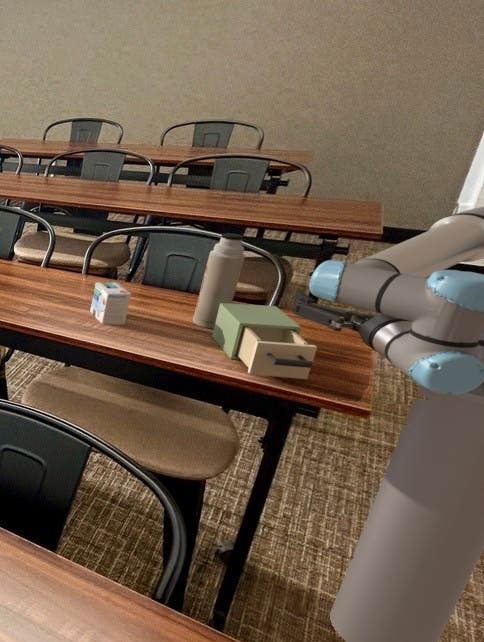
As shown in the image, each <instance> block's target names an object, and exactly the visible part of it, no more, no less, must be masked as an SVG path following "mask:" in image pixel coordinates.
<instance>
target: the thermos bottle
mask: <svg viewBox="0 0 484 642" xmlns="http://www.w3.org/2000/svg"><path fill="white" fill-rule="evenodd" d="M243 239H244V235H242V234H238V233H232V232H226V233H225V232H224V233H222V234H221V238H220V239H219V242H217V243H215V245H214V246H213V250H210V252H209V255H208V259H207V261H206V267H205V271H204V274H203V277H202V282H201V285H200V290H199V294H198V298H197V301H196V306H195V308H194V309H195V310H194V313H193V317H192V323H193V324H195V325H197V326H199V327H202V328H206V329H212V330H214V327H215V323H216V319H217V314H218V310H219V306H220V303H228V304H233V299H234V297H235V294H236V291H237V287H238V283H239V280H240V276H241V272H242V269H243V265H244V262H245V258H246V255H245V254H244V252H245V247H244V246H243V245H242V242H243Z"/></svg>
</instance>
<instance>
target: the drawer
mask: <svg viewBox="0 0 484 642" xmlns="http://www.w3.org/2000/svg"><path fill="white" fill-rule="evenodd" d="M317 349H318V347H317V345H315V344H309V343H308V342H307V340H305V339H303V338H302V336H300V334H299V335H298V334H297V333H296V332H294V331H293V330H292V329H281V328H266V327H251V326H243V327H242V331H241V335H240V339H239V343H238V346H237V350H236V354H237V355H238V356H239V358H240V359H241V360H240V361H242V363H244V365H245V366H246V367H247V368H248V369H247V373H248V374H249V375H255V376H256V375H257V376H267V377H276V378H277V377H278V378H289V379H300V380H308V377H309V375H310V371H311V368H313V365H314V364H313V362H314V358H315V356H316V352H317Z"/></svg>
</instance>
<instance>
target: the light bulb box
mask: <svg viewBox="0 0 484 642" xmlns="http://www.w3.org/2000/svg"><path fill="white" fill-rule="evenodd" d="M131 297H132V293H131V292H130V291H128V290H127V288H125V287H123V286H122V285H121V284H120V283H119V282H116V281H114V282H107V281H106V282H104V281H103V282H102V281H101V282H100V281H99V282H98V281H97V282H95V283H94V291H93V295H92V300H91V305H90V310H89V311H90V313H91V314H92V315H93V316H94V318H96V320H97V321H98V322H99V323H100V324H102V325H120V326H124V325H126V321H127V316H128V311H129V306H130V301H131Z"/></svg>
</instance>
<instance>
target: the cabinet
mask: <svg viewBox="0 0 484 642" xmlns="http://www.w3.org/2000/svg"><path fill="white" fill-rule="evenodd" d="M243 326H251V327H266V328H281V329H292V330H293V331H294V332H296V333H297V334H298V335H299V336H300V332H301V330H302V329H301V328H302V326H300V324H298V323H297V322H296V321H294V320H293V319H292V318H291V317H289V316H288V315H287V314H286V313H285V312H284V311H282V310H281V309H280V308H279V307H277V306H276V305H262V304H261V305H260V304H243V303H232V304H228V303H220V306H219V310H218V314H217V319H216V323H215V327H214V329H213V331H212V336H211V337H212V339H213V340H214V341H215V342H216V343H217V344H218V346H219V347H220V348H221V349H222V350H223V352H224V353H225V355H227V356H228V358H229V359H230V360H240V361H242V360H241V359H240V358H239V356H238V355H237V354H236V350H237V346H238V343H239V339H240V335H241V331H242V327H243Z"/></svg>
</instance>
